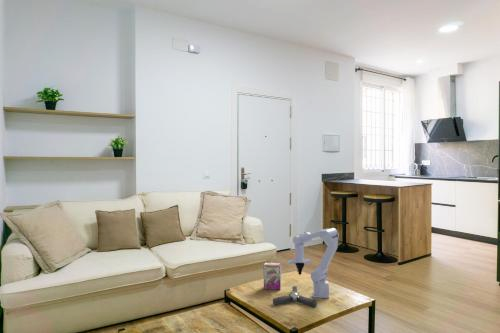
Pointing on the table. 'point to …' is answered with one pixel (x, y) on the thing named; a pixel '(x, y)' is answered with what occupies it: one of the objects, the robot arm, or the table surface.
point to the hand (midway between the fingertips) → (299, 274)
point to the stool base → (294, 300)
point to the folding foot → (294, 288)
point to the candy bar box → (272, 276)
